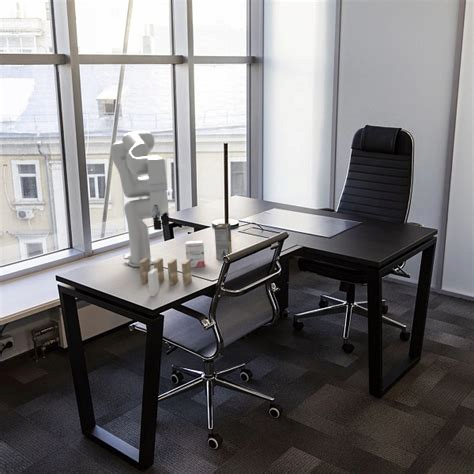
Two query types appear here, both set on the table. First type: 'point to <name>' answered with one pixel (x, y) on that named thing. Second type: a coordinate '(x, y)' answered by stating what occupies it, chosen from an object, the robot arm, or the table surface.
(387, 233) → the table surface
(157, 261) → the domino
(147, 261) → the domino
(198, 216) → the table surface
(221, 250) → the coffee box
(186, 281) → the domino
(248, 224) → the table surface
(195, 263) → the ink box
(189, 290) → the table surface
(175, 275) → the domino
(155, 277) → the cream domino
